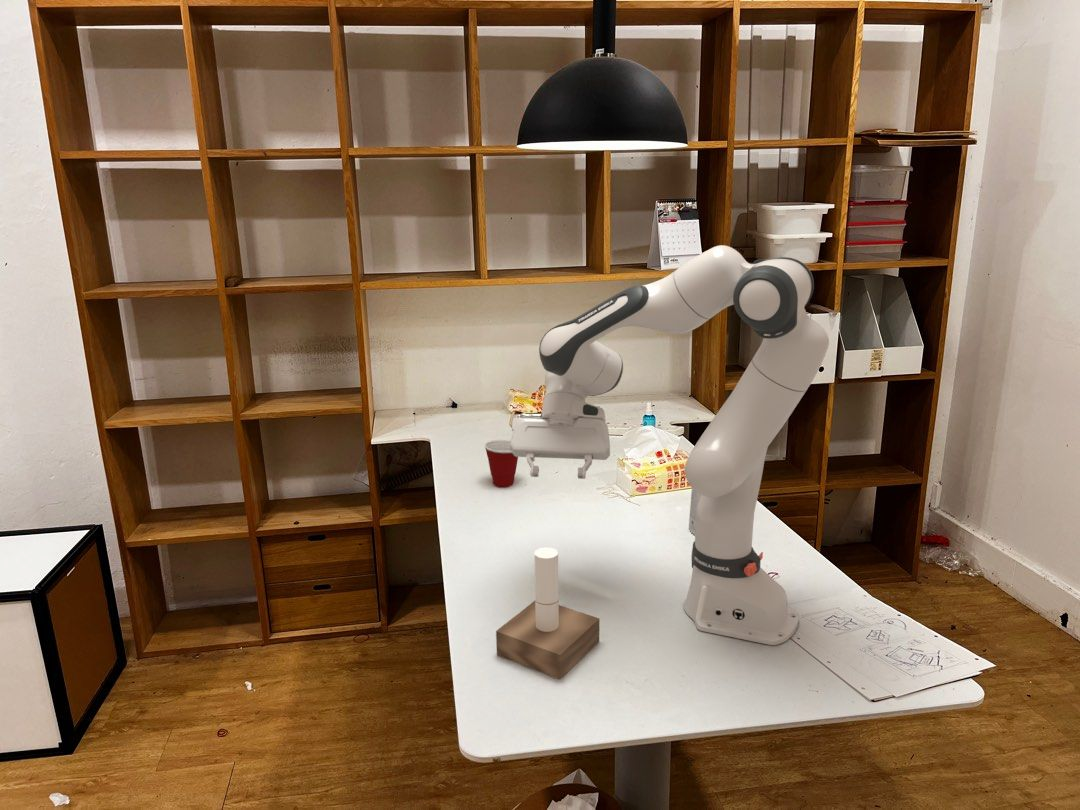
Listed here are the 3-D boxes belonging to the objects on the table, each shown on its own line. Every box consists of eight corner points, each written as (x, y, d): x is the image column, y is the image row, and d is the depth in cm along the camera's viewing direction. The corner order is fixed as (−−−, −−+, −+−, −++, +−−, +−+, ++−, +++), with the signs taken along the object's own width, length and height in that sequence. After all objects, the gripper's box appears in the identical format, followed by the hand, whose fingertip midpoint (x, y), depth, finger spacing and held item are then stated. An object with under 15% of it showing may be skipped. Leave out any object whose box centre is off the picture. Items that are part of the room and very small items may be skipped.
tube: (548, 634, 147) (547, 560, 143) (531, 626, 150) (529, 553, 146) (563, 624, 150) (562, 552, 146) (545, 616, 153) (544, 545, 149)
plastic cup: (528, 487, 226) (527, 447, 223) (491, 493, 223) (490, 452, 219) (516, 474, 236) (515, 436, 233) (480, 479, 233) (479, 440, 229)
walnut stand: (599, 641, 154) (599, 618, 152) (560, 679, 142) (559, 655, 141) (538, 619, 161) (538, 597, 160) (496, 654, 150) (496, 631, 148)
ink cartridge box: (727, 544, 192) (730, 487, 188) (706, 547, 190) (709, 490, 186) (708, 526, 201) (711, 472, 197) (687, 529, 200) (690, 475, 195)
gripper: (511, 406, 164) (503, 468, 158) (611, 409, 162) (608, 472, 155) (515, 420, 170) (508, 480, 164) (612, 423, 167) (609, 484, 161)
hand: (557, 476), depth 159 cm, fingers open, 8 cm apart
